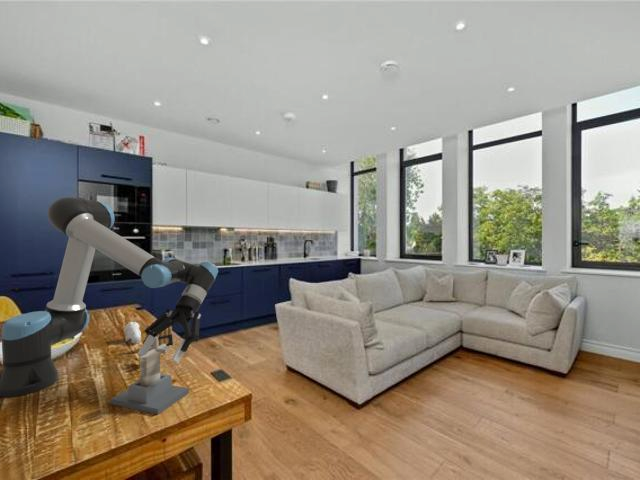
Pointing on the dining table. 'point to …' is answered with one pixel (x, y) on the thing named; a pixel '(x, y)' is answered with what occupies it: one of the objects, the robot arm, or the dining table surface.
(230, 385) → the dining table surface
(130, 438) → the dining table surface
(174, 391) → the rectangular socket base
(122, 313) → the dining table surface
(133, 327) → the penguin figurine
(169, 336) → the ammunition clip
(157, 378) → the slat
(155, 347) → the pipe connector
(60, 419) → the dining table surface
